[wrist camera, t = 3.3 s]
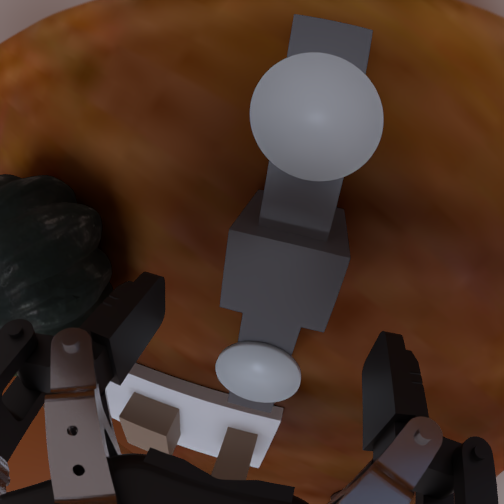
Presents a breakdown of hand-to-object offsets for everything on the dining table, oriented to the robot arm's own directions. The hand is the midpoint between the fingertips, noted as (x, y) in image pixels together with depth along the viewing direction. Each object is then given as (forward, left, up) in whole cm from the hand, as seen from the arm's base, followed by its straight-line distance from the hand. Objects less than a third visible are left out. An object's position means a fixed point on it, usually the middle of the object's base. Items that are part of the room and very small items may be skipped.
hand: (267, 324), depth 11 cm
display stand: (+9, +23, -9) cm, 26 cm away
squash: (+18, +5, -9) cm, 20 cm away
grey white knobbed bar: (0, 0, -9) cm, 9 cm away
